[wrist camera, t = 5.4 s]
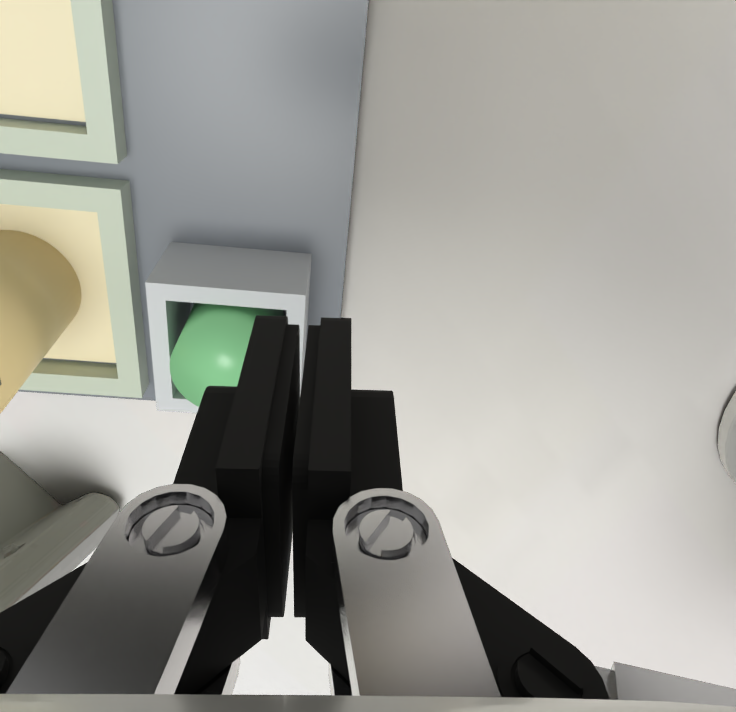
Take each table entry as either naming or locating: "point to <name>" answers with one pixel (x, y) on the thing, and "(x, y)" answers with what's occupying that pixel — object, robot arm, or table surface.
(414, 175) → the table surface
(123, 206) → the station
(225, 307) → the button
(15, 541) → the digital clock
